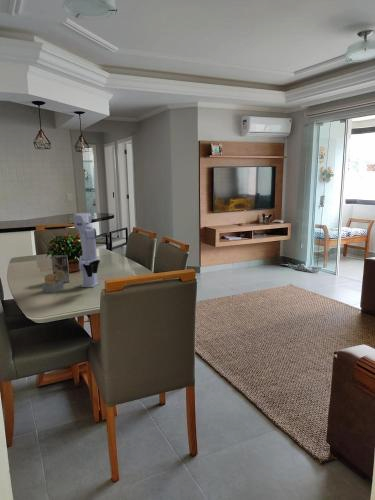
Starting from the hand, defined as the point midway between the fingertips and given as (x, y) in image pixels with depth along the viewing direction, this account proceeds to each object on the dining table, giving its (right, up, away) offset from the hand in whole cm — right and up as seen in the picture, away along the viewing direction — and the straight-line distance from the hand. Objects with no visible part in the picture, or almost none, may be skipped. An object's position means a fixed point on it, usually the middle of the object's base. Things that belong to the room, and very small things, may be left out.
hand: (92, 274), depth 198 cm
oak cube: (-25, -6, +6) cm, 26 cm away
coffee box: (-25, -6, +24) cm, 36 cm away
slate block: (-24, -10, +7) cm, 27 cm away
